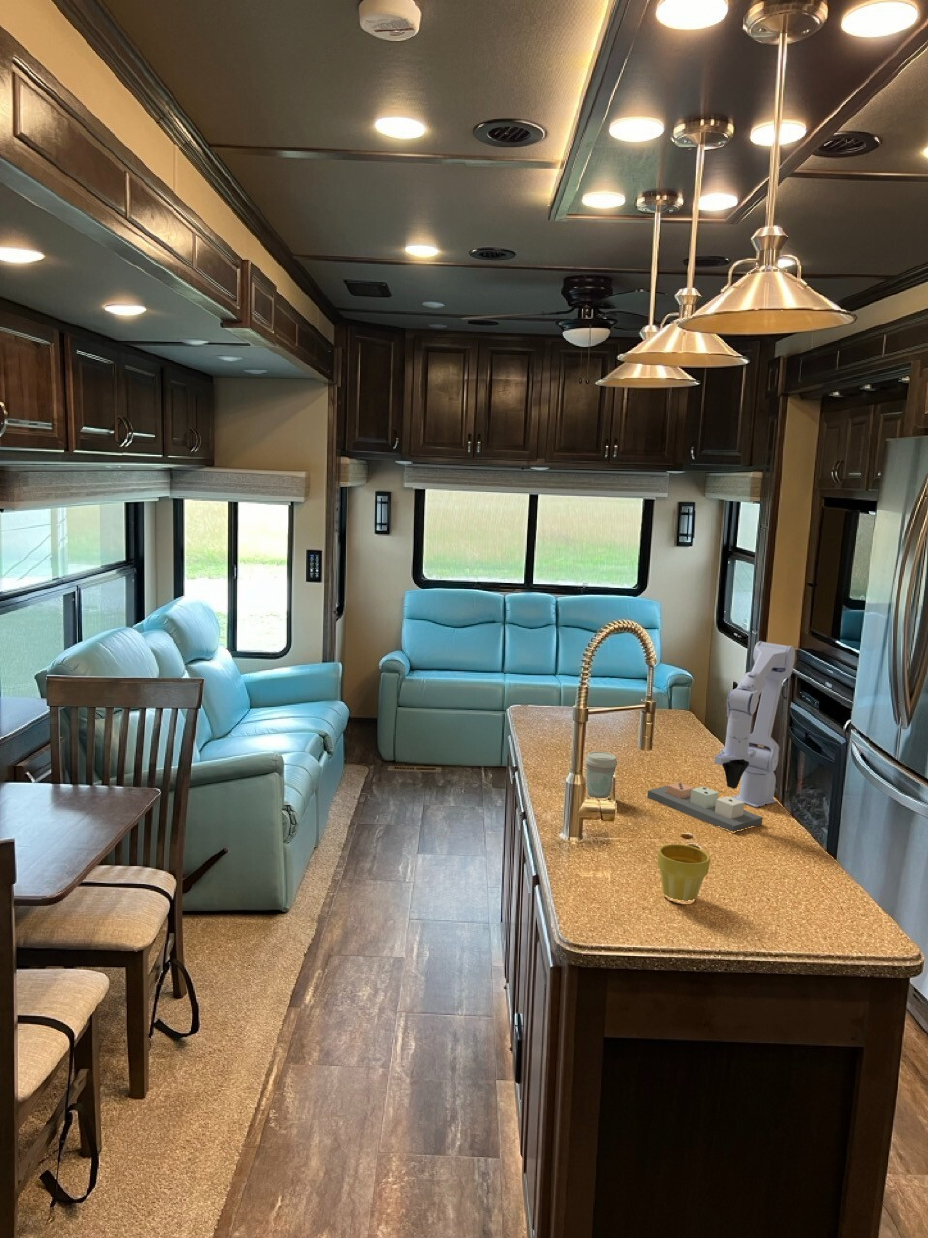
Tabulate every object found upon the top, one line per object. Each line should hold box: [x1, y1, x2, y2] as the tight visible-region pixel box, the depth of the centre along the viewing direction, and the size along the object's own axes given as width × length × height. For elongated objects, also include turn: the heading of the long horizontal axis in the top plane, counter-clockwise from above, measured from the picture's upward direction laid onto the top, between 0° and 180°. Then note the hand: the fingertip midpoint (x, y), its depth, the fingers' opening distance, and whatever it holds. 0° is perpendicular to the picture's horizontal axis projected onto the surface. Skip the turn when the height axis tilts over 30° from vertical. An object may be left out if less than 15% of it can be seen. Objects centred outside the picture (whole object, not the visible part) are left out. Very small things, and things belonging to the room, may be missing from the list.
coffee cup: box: [585, 750, 618, 798], centre depth 242 cm, size 8×8×12 cm
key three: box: [666, 781, 695, 799], centre depth 245 cm, size 5×5×4 cm
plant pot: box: [657, 843, 711, 901], centre depth 187 cm, size 10×10×10 cm
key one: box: [715, 795, 745, 819], centre depth 232 cm, size 5×5×4 cm
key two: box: [690, 786, 720, 809], centre depth 238 cm, size 5×5×4 cm
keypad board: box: [646, 785, 763, 832], centre depth 239 cm, size 12×28×2 cm, turn 37°
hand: (731, 787), depth 231 cm, fingers closed
